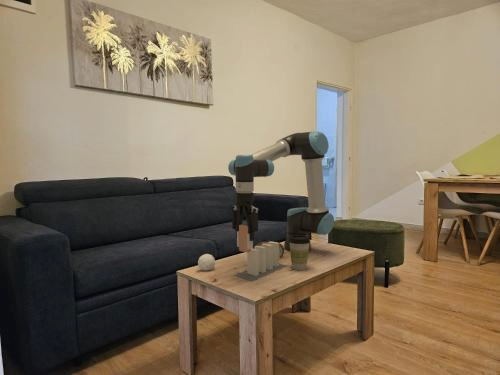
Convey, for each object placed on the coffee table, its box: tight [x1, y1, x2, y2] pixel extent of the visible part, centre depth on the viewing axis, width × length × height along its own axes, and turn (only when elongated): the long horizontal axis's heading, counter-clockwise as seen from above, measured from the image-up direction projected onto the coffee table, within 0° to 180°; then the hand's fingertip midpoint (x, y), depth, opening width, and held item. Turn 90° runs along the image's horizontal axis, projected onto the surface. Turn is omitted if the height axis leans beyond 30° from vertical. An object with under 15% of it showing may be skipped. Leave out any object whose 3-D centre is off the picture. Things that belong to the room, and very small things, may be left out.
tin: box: [255, 241, 285, 259], centre depth 171 cm, size 15×3×8 cm, turn 84°
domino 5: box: [267, 241, 280, 267], centre depth 157 cm, size 2×5×11 cm, turn 50°
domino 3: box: [253, 245, 266, 273], centre depth 149 cm, size 2×5×11 cm, turn 50°
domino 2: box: [246, 247, 259, 276], centre depth 145 cm, size 2×5×11 cm, turn 50°
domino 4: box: [261, 244, 273, 270], centre depth 153 cm, size 2×5×11 cm, turn 50°
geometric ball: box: [197, 253, 216, 272], centre depth 153 cm, size 8×8×8 cm
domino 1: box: [238, 223, 251, 254], centre depth 141 cm, size 2×5×11 cm, turn 50°
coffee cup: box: [289, 235, 311, 271], centre depth 153 cm, size 10×10×15 cm
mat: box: [232, 263, 288, 282], centre depth 150 cm, size 26×11×1 cm, turn 140°
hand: (244, 247), depth 141 cm, fingers closed on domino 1, 5 cm apart
